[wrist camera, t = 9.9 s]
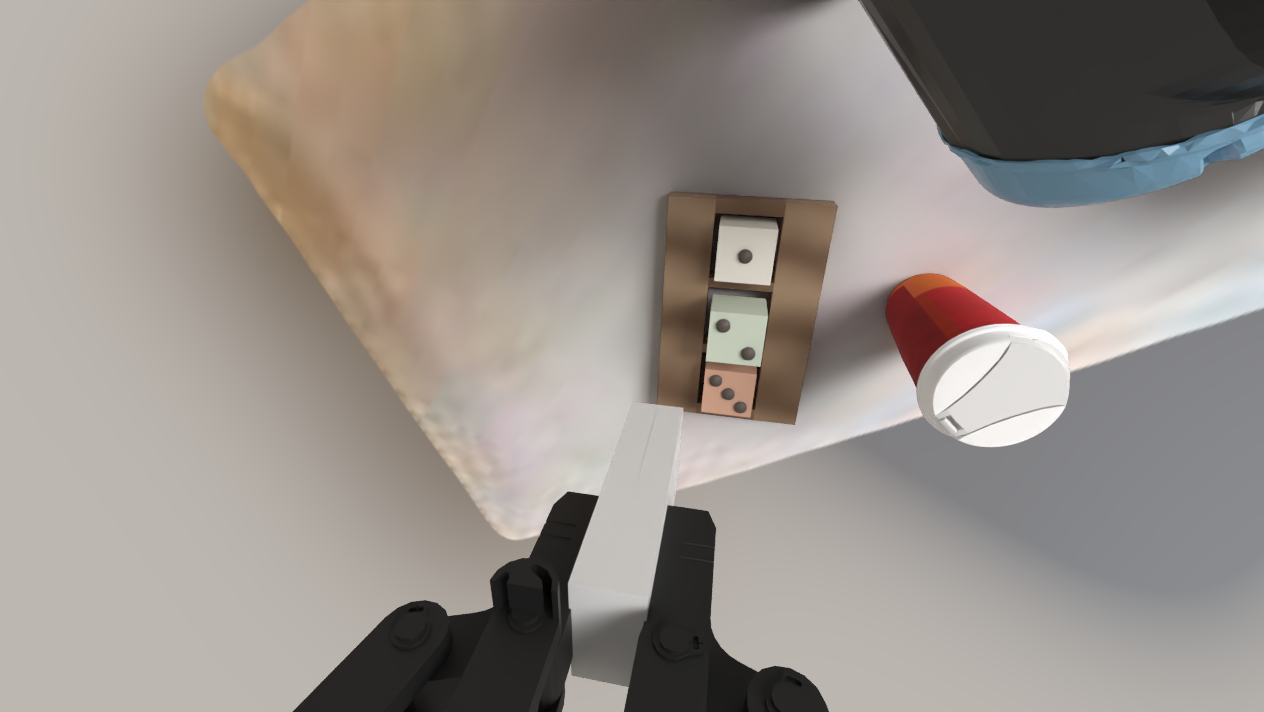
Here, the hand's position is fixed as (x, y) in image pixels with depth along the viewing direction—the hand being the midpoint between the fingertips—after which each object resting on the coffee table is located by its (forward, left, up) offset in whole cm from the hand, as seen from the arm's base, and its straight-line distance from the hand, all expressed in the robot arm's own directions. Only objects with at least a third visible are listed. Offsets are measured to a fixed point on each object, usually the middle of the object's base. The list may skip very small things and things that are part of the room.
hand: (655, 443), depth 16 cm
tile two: (+8, +3, -30) cm, 31 cm away
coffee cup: (+6, +18, -33) cm, 38 cm away
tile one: (+2, +3, -32) cm, 32 cm away
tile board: (+8, +3, -32) cm, 34 cm away
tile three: (+14, +3, -32) cm, 35 cm away
